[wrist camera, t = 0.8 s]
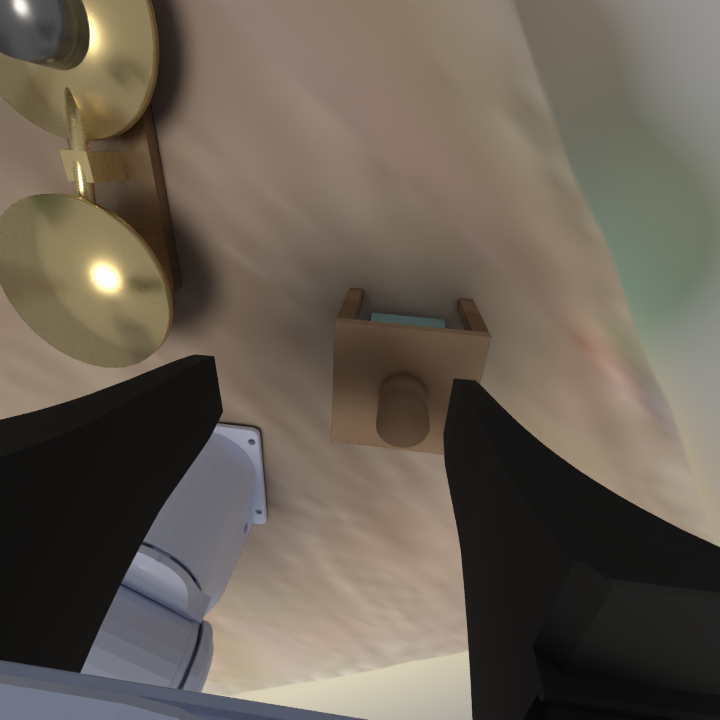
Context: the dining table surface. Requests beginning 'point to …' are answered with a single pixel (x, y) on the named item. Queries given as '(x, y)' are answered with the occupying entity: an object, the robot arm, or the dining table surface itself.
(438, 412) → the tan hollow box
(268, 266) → the dining table surface
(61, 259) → the balance
